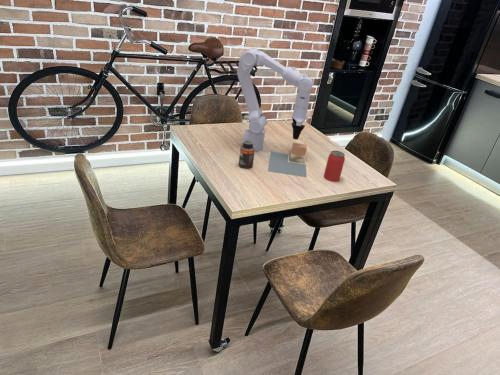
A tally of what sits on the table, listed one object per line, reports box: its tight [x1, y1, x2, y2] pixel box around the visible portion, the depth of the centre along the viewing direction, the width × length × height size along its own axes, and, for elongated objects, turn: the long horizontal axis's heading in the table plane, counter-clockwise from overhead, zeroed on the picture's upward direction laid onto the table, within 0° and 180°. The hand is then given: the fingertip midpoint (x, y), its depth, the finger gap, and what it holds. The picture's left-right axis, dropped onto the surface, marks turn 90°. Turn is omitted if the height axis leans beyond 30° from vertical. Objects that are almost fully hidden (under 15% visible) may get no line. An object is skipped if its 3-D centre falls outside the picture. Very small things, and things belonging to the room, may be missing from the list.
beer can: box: [323, 150, 346, 183], centre depth 154 cm, size 7×7×12 cm
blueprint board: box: [267, 151, 308, 178], centre depth 164 cm, size 16×21×1 cm
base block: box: [289, 149, 306, 164], centre depth 167 cm, size 6×6×3 cm
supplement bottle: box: [238, 140, 256, 170], centre depth 154 cm, size 6×6×11 cm
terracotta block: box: [290, 142, 308, 157], centre depth 166 cm, size 6×4×4 cm, turn 84°
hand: (295, 136), depth 167 cm, fingers open, 7 cm apart
